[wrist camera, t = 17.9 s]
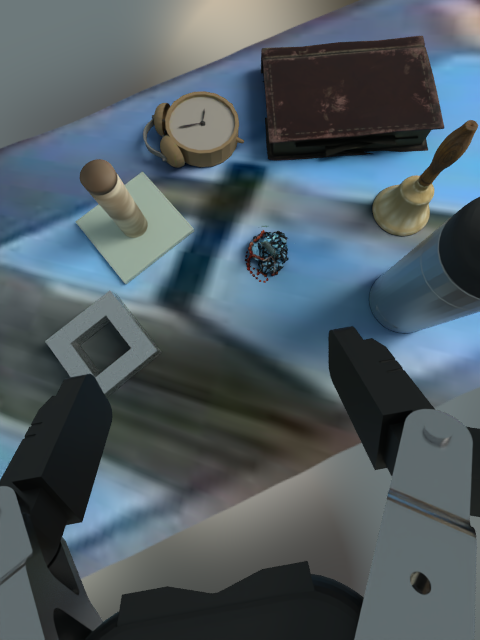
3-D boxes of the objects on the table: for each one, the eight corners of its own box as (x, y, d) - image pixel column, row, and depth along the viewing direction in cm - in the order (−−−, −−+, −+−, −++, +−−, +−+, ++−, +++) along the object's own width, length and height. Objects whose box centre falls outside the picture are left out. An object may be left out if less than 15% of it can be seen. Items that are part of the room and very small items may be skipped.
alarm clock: (249, 145, 48) (148, 157, 45) (244, 167, 53) (153, 180, 50) (230, 85, 50) (133, 93, 47) (227, 112, 55) (139, 121, 52)
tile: (143, 174, 51) (142, 171, 50) (194, 230, 49) (193, 229, 48) (77, 223, 49) (75, 221, 49) (126, 284, 47) (124, 283, 47)
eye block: (117, 295, 47) (110, 290, 44) (162, 352, 45) (157, 350, 43) (56, 343, 46) (45, 341, 43) (99, 403, 44) (90, 405, 42)
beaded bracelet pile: (306, 270, 44) (265, 242, 41) (271, 297, 49) (232, 273, 45) (301, 235, 49) (264, 207, 46) (269, 262, 54) (234, 238, 50)
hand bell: (365, 191, 49) (419, 101, 33) (419, 181, 49) (498, 86, 33) (380, 241, 47) (444, 170, 31) (435, 230, 47) (526, 154, 31)
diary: (260, 73, 55) (261, 42, 50) (408, 61, 54) (423, 28, 49) (268, 168, 51) (269, 144, 46) (427, 156, 50) (446, 131, 45)
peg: (137, 208, 49) (100, 153, 37) (152, 226, 48) (120, 175, 36) (116, 224, 49) (73, 173, 37) (132, 242, 48) (92, 197, 36)
